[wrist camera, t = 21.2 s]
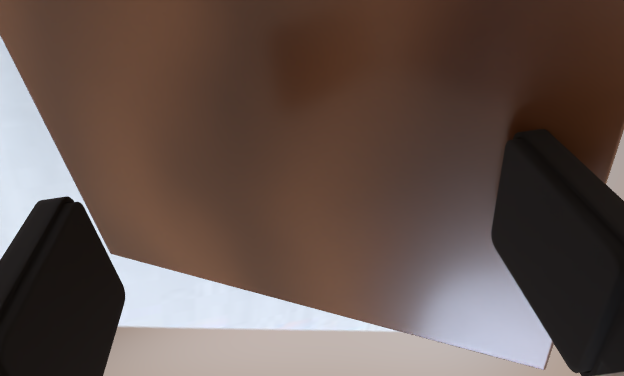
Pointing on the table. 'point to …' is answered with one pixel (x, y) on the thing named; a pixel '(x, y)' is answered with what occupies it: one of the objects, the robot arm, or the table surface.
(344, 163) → the chest lid
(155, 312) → the table surface
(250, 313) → the table surface
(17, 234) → the robot arm
